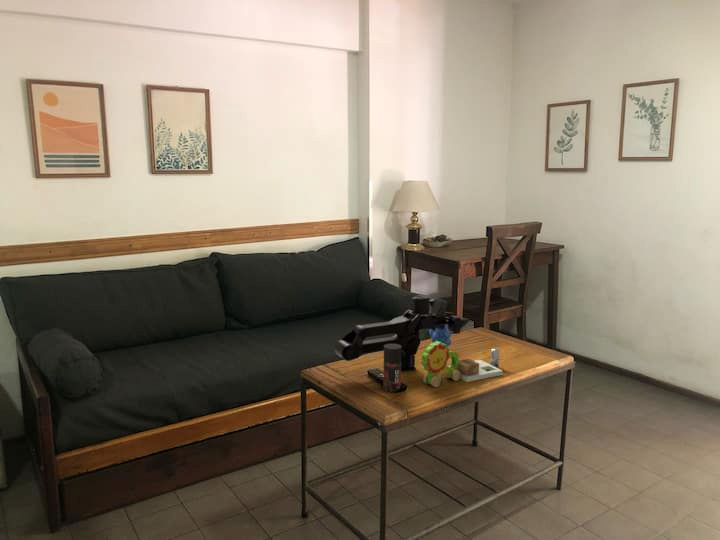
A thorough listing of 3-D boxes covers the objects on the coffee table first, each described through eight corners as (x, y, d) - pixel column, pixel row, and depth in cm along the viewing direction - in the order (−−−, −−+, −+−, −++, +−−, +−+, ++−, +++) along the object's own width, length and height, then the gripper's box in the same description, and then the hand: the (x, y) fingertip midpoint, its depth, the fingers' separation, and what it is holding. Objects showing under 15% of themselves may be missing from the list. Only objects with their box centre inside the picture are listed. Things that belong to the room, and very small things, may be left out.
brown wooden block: (465, 375, 205) (465, 366, 204) (455, 370, 210) (455, 361, 209) (478, 373, 207) (479, 363, 207) (468, 367, 213) (468, 358, 212)
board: (466, 382, 204) (466, 376, 204) (445, 370, 216) (445, 365, 215) (502, 374, 211) (502, 369, 211) (479, 363, 223) (480, 358, 222)
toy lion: (450, 375, 210) (452, 335, 208) (461, 380, 206) (463, 339, 203) (417, 385, 201) (418, 343, 198) (428, 390, 197) (429, 347, 194)
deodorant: (390, 383, 202) (390, 342, 199) (404, 388, 199) (405, 345, 196) (379, 388, 198) (380, 346, 195) (393, 393, 194) (394, 350, 191)
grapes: (422, 347, 242) (422, 319, 240) (433, 344, 246) (434, 316, 244) (443, 354, 233) (444, 325, 231) (454, 351, 237) (455, 322, 235)
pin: (493, 369, 217) (494, 351, 216) (488, 366, 220) (489, 348, 218) (500, 367, 218) (501, 350, 217) (495, 365, 221) (495, 347, 220)
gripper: (442, 307, 209) (477, 302, 216) (414, 296, 225) (448, 292, 232) (441, 336, 211) (476, 331, 218) (414, 323, 228) (447, 319, 234)
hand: (461, 317), depth 226 cm, fingers open, 9 cm apart
